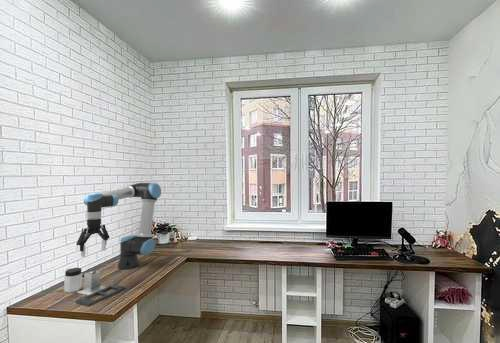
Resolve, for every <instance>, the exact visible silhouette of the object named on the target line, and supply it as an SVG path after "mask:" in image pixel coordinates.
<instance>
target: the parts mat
mask: <svg viewBox="0 0 500 343" xmlns="http://www.w3.org/2000/svg"><path fill="white" fill-rule="evenodd" d="M106 287H107V286H103V285H100V289H98V290H95V291H93V292H88V291H84V288H83V289H82V290H81V289H80V290H79V291H76V294H81V295H84V296H88V295H90V294H93V293H95V292H97V291H100V290H102V289H104V288H106Z"/></svg>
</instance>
